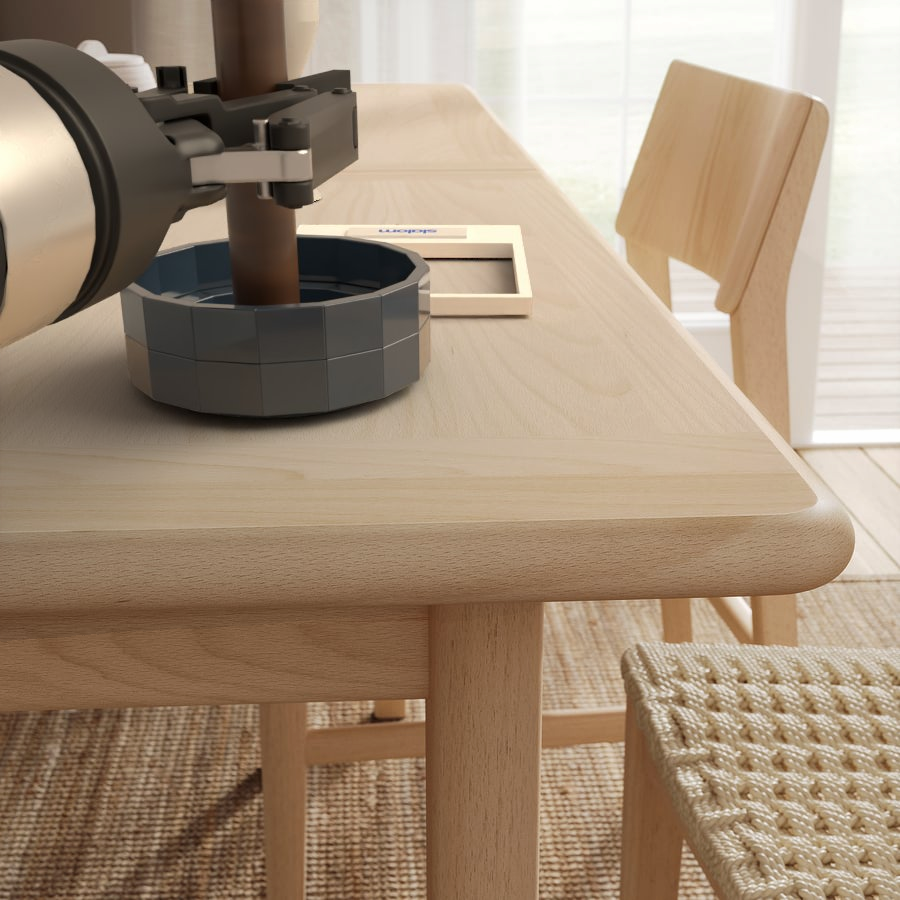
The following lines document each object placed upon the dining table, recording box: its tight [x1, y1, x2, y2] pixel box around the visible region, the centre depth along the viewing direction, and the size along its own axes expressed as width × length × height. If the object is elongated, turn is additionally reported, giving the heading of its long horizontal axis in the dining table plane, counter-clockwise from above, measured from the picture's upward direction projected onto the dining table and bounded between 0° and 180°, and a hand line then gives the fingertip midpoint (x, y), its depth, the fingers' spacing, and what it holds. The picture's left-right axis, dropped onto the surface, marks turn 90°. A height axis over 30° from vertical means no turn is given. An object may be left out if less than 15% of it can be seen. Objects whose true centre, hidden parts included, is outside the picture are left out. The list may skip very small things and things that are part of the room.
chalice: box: [284, 0, 323, 202], centre depth 89 cm, size 7×7×18 cm
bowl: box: [119, 234, 432, 419], centre depth 52 cm, size 13×13×5 cm
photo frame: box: [296, 224, 534, 316], centre depth 70 cm, size 15×1×18 cm
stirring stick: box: [210, 0, 300, 306], centre depth 47 cm, size 3×3×16 cm
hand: (305, 101), depth 52 cm, fingers closed on stirring stick, 3 cm apart
